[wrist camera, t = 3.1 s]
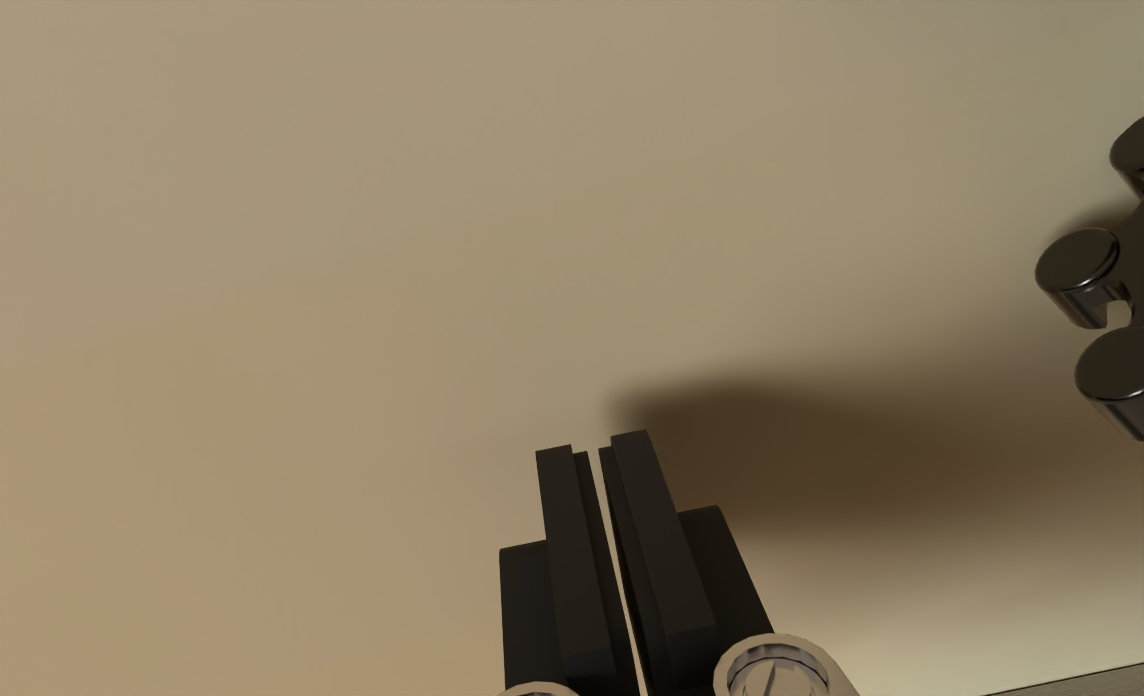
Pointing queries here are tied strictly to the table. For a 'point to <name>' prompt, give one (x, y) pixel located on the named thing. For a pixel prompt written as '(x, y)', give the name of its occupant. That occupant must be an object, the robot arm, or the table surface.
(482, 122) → the table surface
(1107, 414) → the valve
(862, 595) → the table surface
